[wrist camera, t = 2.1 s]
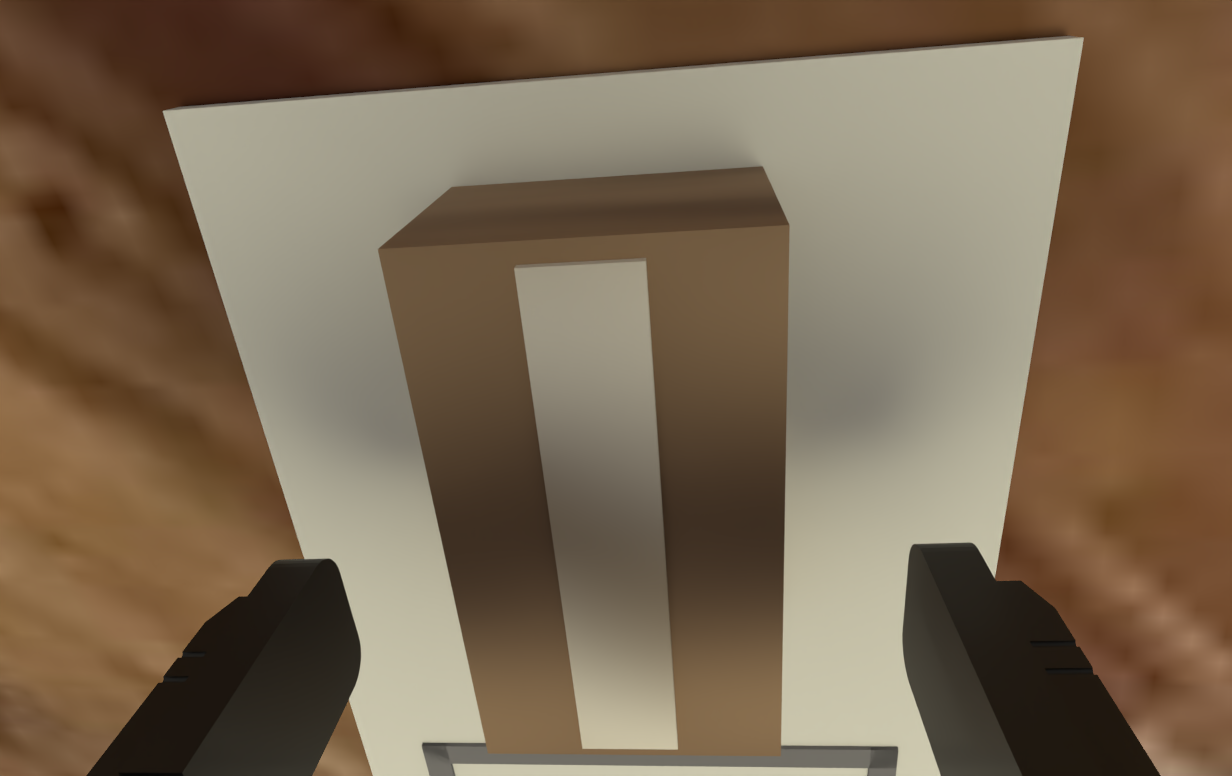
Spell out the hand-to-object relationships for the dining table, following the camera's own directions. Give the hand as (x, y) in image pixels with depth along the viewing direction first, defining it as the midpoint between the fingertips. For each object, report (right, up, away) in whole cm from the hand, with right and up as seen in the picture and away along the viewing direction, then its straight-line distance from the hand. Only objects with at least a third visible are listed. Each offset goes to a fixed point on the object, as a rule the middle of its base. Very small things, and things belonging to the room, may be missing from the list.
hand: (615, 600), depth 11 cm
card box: (0, +2, +3) cm, 4 cm away
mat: (+1, -3, +7) cm, 7 cm away
